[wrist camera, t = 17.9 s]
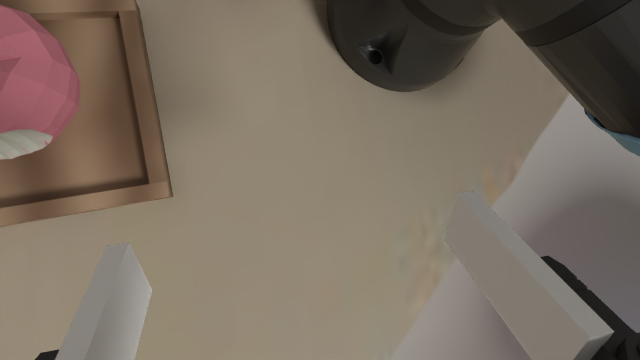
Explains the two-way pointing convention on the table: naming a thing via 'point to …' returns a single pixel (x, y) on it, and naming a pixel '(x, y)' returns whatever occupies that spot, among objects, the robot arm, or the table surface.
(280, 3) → the table surface
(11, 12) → the apple
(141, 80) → the walnut tray
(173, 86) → the table surface
